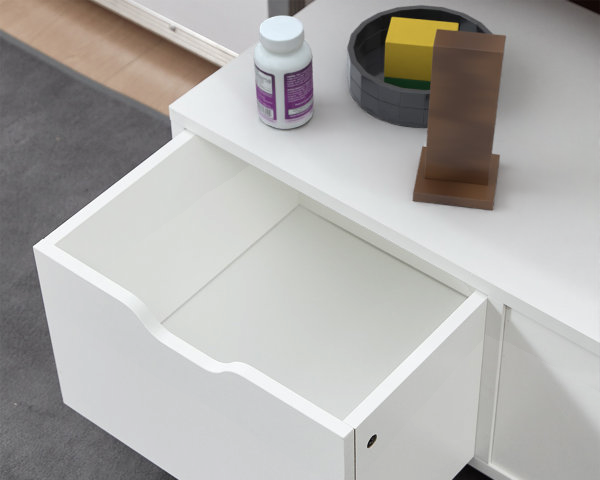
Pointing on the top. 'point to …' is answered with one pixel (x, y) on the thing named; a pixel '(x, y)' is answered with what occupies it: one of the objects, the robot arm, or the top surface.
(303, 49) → the pill bottle
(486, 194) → the brown upright plaque stand
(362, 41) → the pan
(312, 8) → the top surface
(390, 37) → the sponge
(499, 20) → the top surface
